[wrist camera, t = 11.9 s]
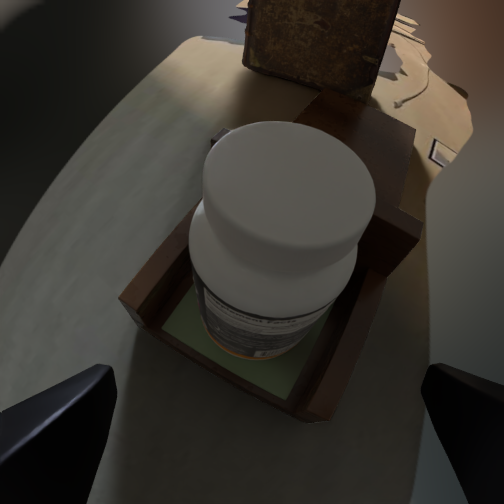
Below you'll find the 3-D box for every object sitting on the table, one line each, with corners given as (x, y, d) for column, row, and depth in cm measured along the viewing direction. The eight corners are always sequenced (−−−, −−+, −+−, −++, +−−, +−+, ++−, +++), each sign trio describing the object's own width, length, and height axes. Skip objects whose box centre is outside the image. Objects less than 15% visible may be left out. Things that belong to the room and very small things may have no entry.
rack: (307, 424, 15) (365, 417, 8) (136, 324, 17) (91, 258, 11) (411, 139, 30) (437, 85, 23) (322, 97, 32) (337, 40, 25)
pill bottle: (220, 251, 18) (224, 96, 10) (317, 279, 18) (390, 141, 9) (184, 344, 15) (139, 223, 7) (295, 376, 15) (394, 295, 6)
